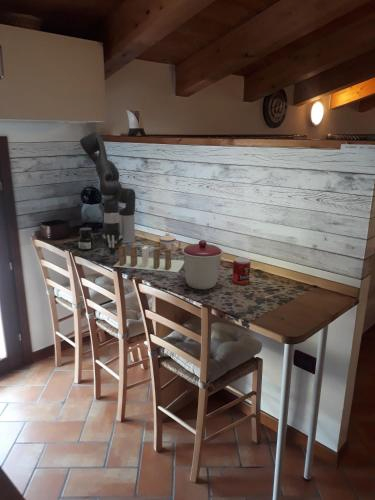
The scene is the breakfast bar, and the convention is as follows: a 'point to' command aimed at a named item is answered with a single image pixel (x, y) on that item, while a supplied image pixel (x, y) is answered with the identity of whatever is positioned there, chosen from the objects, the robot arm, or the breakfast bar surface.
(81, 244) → the ink bottle
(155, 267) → the domino
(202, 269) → the canister
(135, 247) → the domino
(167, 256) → the domino
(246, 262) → the canned food
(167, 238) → the teacup with lid
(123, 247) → the domino
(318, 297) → the breakfast bar surface
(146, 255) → the domino
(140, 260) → the mat
